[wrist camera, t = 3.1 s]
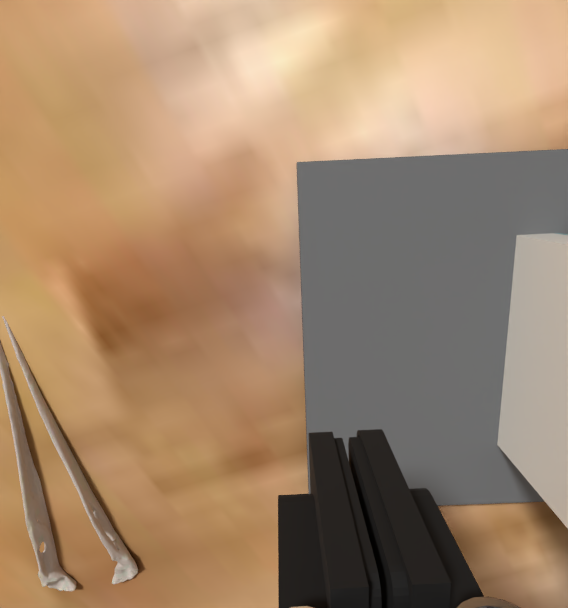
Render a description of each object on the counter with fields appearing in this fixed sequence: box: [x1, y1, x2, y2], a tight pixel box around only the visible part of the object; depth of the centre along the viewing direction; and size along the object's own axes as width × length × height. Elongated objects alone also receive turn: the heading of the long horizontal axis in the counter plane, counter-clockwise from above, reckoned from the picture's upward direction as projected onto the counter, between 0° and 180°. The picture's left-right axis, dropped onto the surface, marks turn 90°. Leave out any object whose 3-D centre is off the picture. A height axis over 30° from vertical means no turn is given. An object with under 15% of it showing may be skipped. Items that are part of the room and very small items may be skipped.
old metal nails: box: [0, 316, 138, 591], centre depth 19 cm, size 17×5×2 cm, turn 11°
